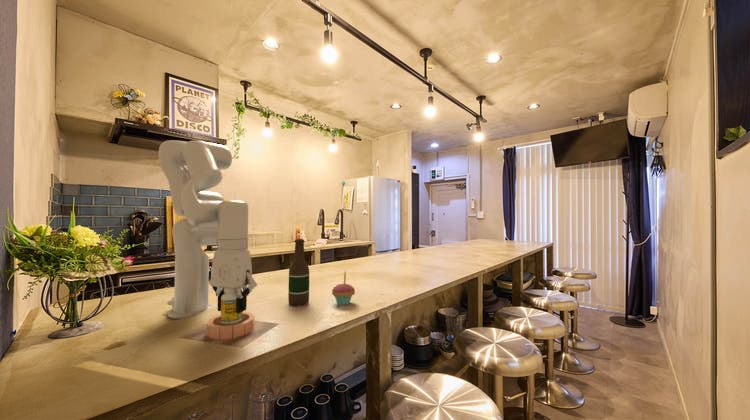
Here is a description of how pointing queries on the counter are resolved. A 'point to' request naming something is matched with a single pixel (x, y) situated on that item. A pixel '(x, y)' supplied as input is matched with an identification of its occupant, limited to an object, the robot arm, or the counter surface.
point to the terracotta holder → (230, 327)
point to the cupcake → (343, 292)
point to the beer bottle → (298, 277)
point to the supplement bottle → (230, 307)
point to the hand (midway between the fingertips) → (232, 309)
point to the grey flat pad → (239, 341)
